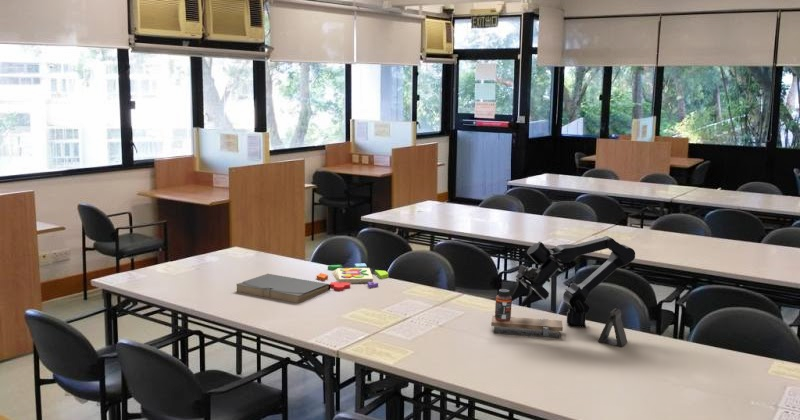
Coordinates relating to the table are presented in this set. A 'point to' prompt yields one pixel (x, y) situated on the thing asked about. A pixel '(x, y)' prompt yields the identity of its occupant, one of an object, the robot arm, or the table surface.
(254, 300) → the table surface
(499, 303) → the supplement bottle
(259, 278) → the file folder
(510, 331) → the beam stand
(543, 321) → the balance beam
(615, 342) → the grey a-frame stand
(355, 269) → the pattern blocks set
